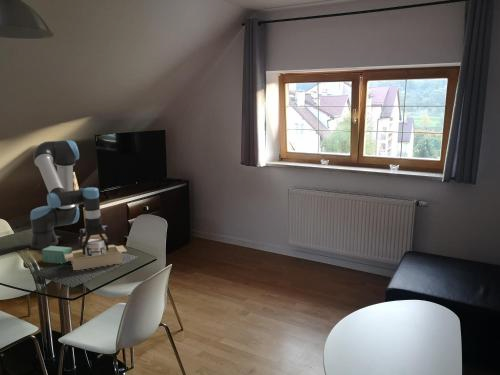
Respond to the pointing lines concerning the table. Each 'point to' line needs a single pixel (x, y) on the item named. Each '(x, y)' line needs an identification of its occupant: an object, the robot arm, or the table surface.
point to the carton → (96, 258)
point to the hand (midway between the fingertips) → (96, 258)
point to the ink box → (95, 247)
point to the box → (55, 254)
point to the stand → (94, 238)
